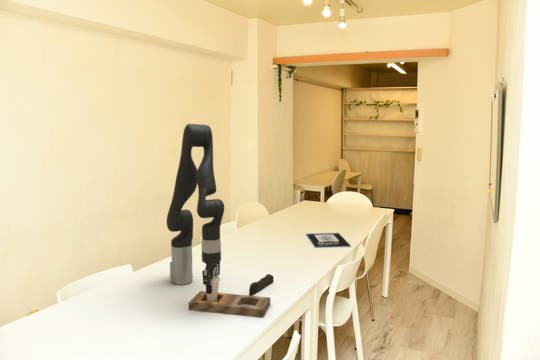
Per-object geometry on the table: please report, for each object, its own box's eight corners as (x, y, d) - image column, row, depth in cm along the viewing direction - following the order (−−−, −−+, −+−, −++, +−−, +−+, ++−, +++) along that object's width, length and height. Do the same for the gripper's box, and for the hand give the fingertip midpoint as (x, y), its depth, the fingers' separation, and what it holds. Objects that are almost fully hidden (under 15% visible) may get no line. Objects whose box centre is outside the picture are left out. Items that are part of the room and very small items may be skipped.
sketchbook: (315, 249, 259) (315, 245, 259) (305, 235, 289) (305, 232, 288) (351, 247, 261) (351, 244, 261) (338, 234, 291) (338, 231, 291)
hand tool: (266, 281, 206) (266, 271, 205) (273, 283, 204) (273, 273, 203) (244, 295, 189) (243, 285, 189) (252, 297, 187) (251, 286, 187)
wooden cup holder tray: (188, 309, 174) (188, 301, 174) (200, 297, 186) (200, 290, 185) (263, 317, 167) (263, 309, 167) (270, 304, 179) (270, 297, 179)
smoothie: (220, 298, 181) (220, 264, 179) (219, 304, 175) (219, 270, 173) (205, 298, 181) (204, 265, 179) (203, 304, 175) (202, 270, 173)
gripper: (208, 244, 183) (209, 283, 185) (195, 254, 169) (196, 296, 171) (226, 245, 181) (226, 284, 183) (214, 255, 167) (214, 298, 170)
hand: (211, 290), depth 177 cm, fingers closed on smoothie, 6 cm apart
